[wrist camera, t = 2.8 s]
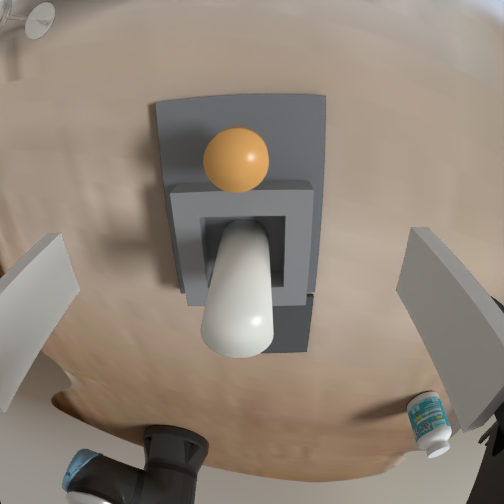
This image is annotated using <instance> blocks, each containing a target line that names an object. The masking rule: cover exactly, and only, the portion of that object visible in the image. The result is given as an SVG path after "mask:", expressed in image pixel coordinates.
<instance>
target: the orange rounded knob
mask: <svg viewBox="0 0 504 504" xmlns="http://www.w3.org/2000/svg"><path fill="white" fill-rule="evenodd" d="M203 164H204V170H205V172H206V175H207V177H208V178H209V180H210V181H211V182H212V183H213V184H214V185H215V186H217V187H218V188H220V189H222V190H224V191H227V192H231V193H242V192H246V191H249V190H251V189H253V188H255V187H256V186H257V185H259V184H260V183H261V182H262V180H263V179H264V177H265V176H266V174H267V171H268V167H269V156H268V150H267V146H266V143H265V141H264V139H263V138H262V137H261V135H260V134H259V133H257V132H256V131H255V130H253V129H251V128H248V127H245V126H232V127H229V128H226V129H224V130H222V131H221V132H220V133H218V134H217V135H216V136H215V137H214V138H213V139H212V140H211V142H210V143H209V144H208V146H207V148H206V150H205V153H204V158H203Z"/></svg>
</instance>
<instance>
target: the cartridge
mask: <svg viewBox="0 0 504 504" xmlns="http://www.w3.org/2000/svg"><path fill="white" fill-rule="evenodd" d="M273 335H274V333H273V312H272V292H271V274H270V256H269V239H268V234H267V231H266V230H265V228H264V227H263V226H262V225H261V224H260V223H258V222H257V221H254V220H251V219H238V220H235V221H233V222H231V223H229V224H228V225H227V226H226V227H225V229H224V231H223V233H222V237H221V241H220V245H219V249H218V253H217V258H216V262H215V266H214V270H213V275H212V279H211V283H210V288H209V292H208V297H207V301H206V306H205V310H204V315H203V319H202V324H201V336H202V339H203V341H204V342H205V344H206V345H207V346H208V347H209V348H210V349H212V350H213V351H215V352H217V353H219V354H221V355H224V356H227V357H233V358H246V357H251V356H254V355H257V354H259V353H261V352H263V351H264V350H265V349H267V348H268V346H269V345H270V344H271V342H272V340H273Z"/></svg>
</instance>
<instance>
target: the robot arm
mask: <svg viewBox="0 0 504 504" xmlns="http://www.w3.org/2000/svg"><path fill="white" fill-rule="evenodd" d="M79 291H80V288H79V286H78V283H77V280H76V277H75V274H74V272H73V269H72V266H71V263H70V260H69V257H68V253H67V250H66V247H65V244H64V240H63V237H62V234H61V233H49V234H47V235H46V236H44V237H43V238H42V239H41V240H40V241H39V242H38V243H37V244H36V245H34V246H33V247H32V248H31V249H30V250H29V251H28V252H27V253H26V254H25V255H24V256H23V257H22V258H21V259H20V260H19V261H18V262H17V263H16V264H15V265H14V266H12V267H11V268H10V269H9V270H8V272H7V273H6V274H5V275H4V276H3V277H2V278H1V279H0V411H2V412H4V413H5V412H6V410H7V408H8V407H9V405H10V402H11V401H12V399H13V397H14V395H15V393H16V391H17V389H18V388H19V386H20V384H21V382H22V380H23V379H24V377H25V375H26V373H27V371H28V370H29V368H30V366H31V365H32V363H33V361H34V360H35V358H36V356H37V355H38V353H39V351H40V350H41V348H42V347H43V345H44V343H45V342H46V340H47V339H48V337H49V336H50V334H51V332H52V331H53V329H54V328H55V326H56V325H57V323H58V322H59V320H60V319H61V317H62V316H63V314H64V313H65V311H66V310H67V308H68V307H69V306H70V304H71V303H72V301H73V300H74V298H75V297H76V296H77V294H78V293H79ZM396 291H397V293H398V294H399V296H400V298H401V300H402V302H403V304H404V305H405V307H406V309H407V311H408V313H409V315H410V317H411V319H412V320H413V322H414V324H415V326H416V328H417V330H418V332H419V334H420V336H421V338H422V340H423V342H424V344H425V346H426V348H427V350H428V352H429V354H430V356H431V358H432V361H433V363H434V365H435V367H436V369H437V371H438V374H439V376H440V378H441V380H442V382H443V385H444V387H445V389H446V392H447V394H448V396H449V399H450V401H451V404H452V406H453V408H454V411H455V413H456V416H457V418H458V421H459V424H460V426H461V429H462V431H463V433H464V432H467V431H470V430H473V429H475V428H478V427H481V426H483V425H484V424H485V423H486V422H487V421H488V419H489V418H490V417H491V416H492V415H493V414H495V417H496V419H497V421H496V422H495V423H494V424H493V425H492V426H491V427H490V428H489V429H488V431H486V433H484V434H483V436H482V437H481V438H480V440H479V442H478V443H480V444H481V443H482V442H483V441H484V440H485V439H486V438H487V437H488V436H489V435H490V436H489V440H488V441H487V443H486V444H485V446H487V447H486V450H485V454H484V457H483V460H482V463H481V466H480V469H479V472H478V475H477V478H476V480H475V483H474V486H473V488H472V491H471V493H470V496H469V499H468V501H467V503H466V504H504V306H503V305H502V304H501V303H500V302H498V301H497V300H496V299H494V298H493V297H492V296H490V295H489V294H488V293H487V292H486V290H485V289H484V288H483V287H482V286H481V284H480V283H479V282H478V281H477V280H476V278H475V277H474V276H473V275H472V274H471V273H470V271H469V270H468V269H467V268H466V267H465V266H464V265H463V264H462V262H461V261H460V260H459V259H458V258H457V257H456V256H455V255H454V254H453V253H452V252H451V250H450V249H449V248H448V247H447V246H446V245H445V244H444V243H443V242H442V241H441V240H440V239H439V238H438V237H437V236H436V235H435V234H434V233H433V232H432V231H431V230H430V229H429V228H428V227H411V229H410V234H409V239H408V243H407V248H406V252H405V257H404V261H403V265H402V269H401V273H400V277H399V280H398V284H397V288H396ZM143 446H144V453H145V466H144V470H142V469H139V468H136V467H132V466H130V465H127V464H124V463H122V462H119V461H116V460H114V459H111V458H109V457H106V456H104V455H103V454H101V453H96V452H94V451H91V450H89V449H82V450H79V451H78V452H77V453H76V454H75V456H74V457H73V459H72V461H71V462H70V464H69V466H68V469H67V472H66V474H65V476H64V479H63V483H62V488H63V489H64V490H65V491H66V492H67V495H66V499H67V500H68V502H69V504H194V499H195V490H196V482H197V474H198V471H199V470H200V468H201V466H202V464H203V462H204V460H205V458H206V456H207V454H208V449H209V443H208V442H207V440H206V439H205V438H203V437H202V436H200V435H198V434H196V433H194V432H191V431H189V430H185V429H182V428H178V427H172V426H162V425H158V426H151V427H148V428H147V429H146V430H145V432H144V436H143ZM0 504H1V502H0Z"/></svg>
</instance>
